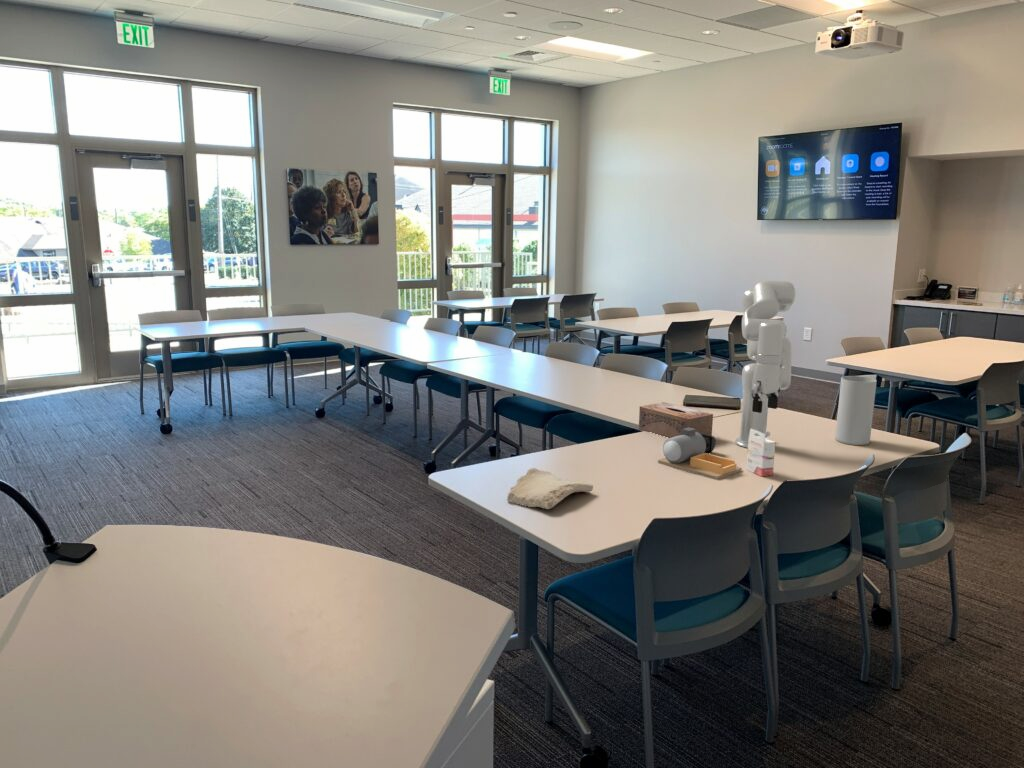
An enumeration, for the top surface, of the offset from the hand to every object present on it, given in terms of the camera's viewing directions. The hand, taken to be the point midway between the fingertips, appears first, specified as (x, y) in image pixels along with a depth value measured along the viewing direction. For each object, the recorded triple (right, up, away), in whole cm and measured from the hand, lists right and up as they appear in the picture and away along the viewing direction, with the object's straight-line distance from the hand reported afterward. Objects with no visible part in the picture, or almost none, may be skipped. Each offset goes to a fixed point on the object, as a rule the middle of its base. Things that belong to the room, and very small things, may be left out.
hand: (764, 410), depth 252 cm
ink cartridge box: (0, -22, +5) cm, 22 cm away
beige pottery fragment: (-74, -26, -21) cm, 81 cm away
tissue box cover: (-19, -12, +53) cm, 57 cm away
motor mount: (-19, -20, +10) cm, 30 cm away
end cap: (-15, -17, +28) cm, 36 cm away
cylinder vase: (+49, -14, +45) cm, 68 cm away
